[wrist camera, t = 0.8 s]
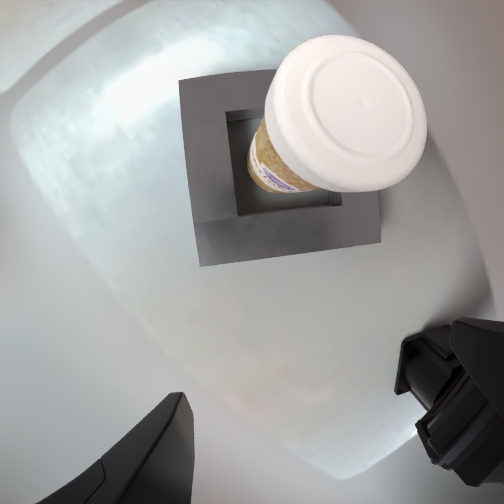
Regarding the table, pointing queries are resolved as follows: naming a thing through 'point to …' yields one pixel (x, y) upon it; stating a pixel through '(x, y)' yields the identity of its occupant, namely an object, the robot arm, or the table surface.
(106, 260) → the table surface
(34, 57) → the table surface
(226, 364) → the table surface
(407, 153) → the sprinkles bottle
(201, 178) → the metal collar
